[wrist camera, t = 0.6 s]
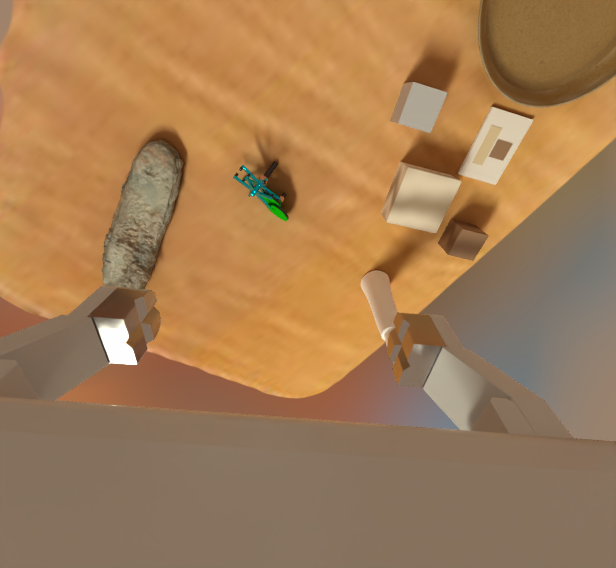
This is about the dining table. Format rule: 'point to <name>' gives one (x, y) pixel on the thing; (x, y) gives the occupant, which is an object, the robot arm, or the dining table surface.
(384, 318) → the cosmetic bottle
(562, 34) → the plant saucer
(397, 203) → the birch base block
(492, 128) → the card
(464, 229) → the walnut cube
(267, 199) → the stick construction toy
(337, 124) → the dining table surface
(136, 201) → the elongated rock
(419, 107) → the grey plastic cube
